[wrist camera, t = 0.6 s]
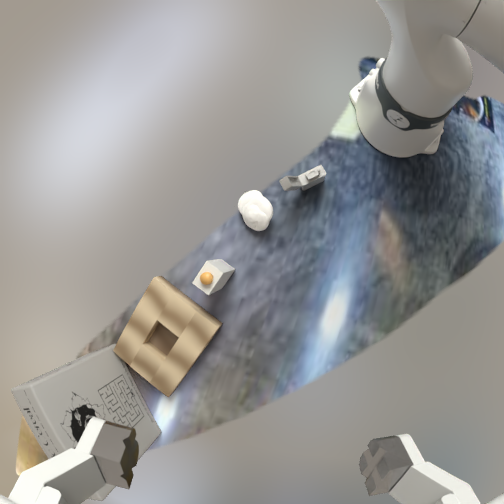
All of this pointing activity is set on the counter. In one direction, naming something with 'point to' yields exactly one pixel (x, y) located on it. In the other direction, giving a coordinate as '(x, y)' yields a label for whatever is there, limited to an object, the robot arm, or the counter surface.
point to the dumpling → (255, 210)
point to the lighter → (304, 179)
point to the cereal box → (85, 404)
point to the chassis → (165, 335)
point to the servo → (213, 276)
